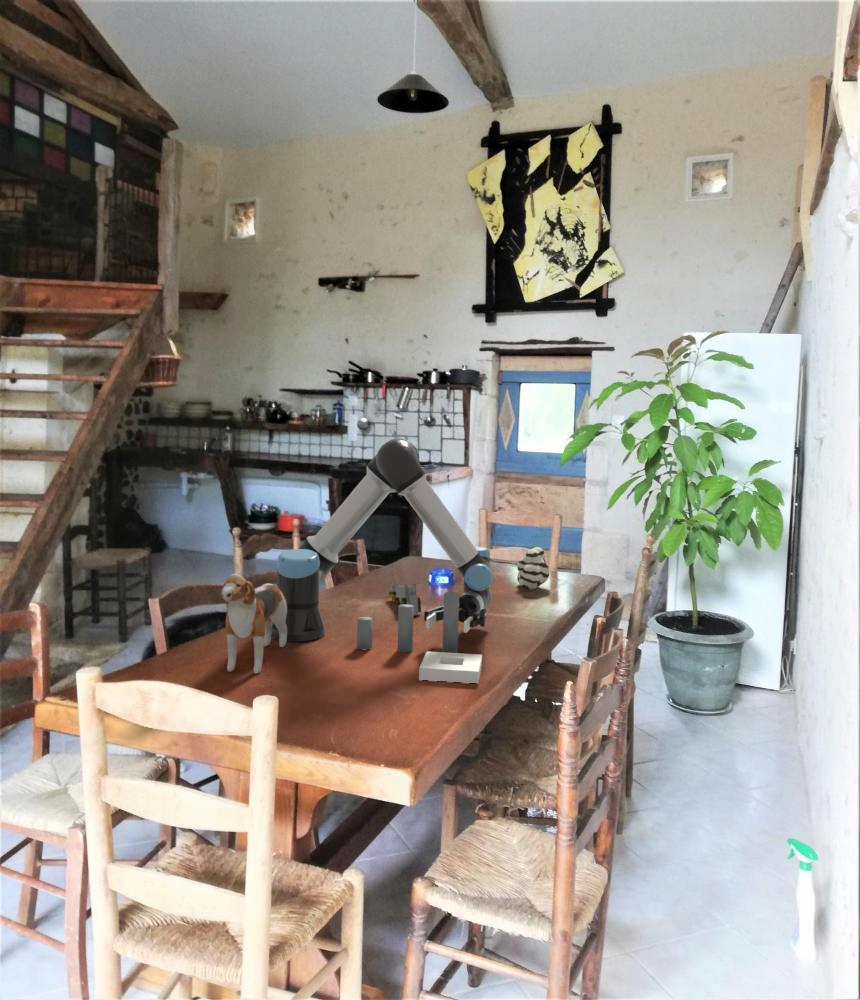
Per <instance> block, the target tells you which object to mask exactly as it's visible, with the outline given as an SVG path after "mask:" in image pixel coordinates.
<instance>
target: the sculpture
mask: <svg viewBox="0 0 860 1000" xmlns="http://www.w3.org/2000/svg"><path fill="white" fill-rule="evenodd" d="M516 567H517V571H518V573H517V579H516V580H517V582H518V584H519V587H520V588H522V589H524V590H535V589H536V588H538V587H540V586H541V585H543V584H545V583H546V582H547V581H548V580H549V577H550V573H551V572H550V567H549V564H548V562H547V561H546V559H545V551H544V548H542V547H540V546H535V547H533V548H531V549H529V550H528V551H526V553H525V555H524V556H523V557H522V558H521V559H519V560H518V562H517V566H516Z"/></svg>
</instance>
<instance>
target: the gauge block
mask: <svg viewBox="0 0 860 1000" xmlns="http://www.w3.org/2000/svg"><path fill="white" fill-rule="evenodd" d="M424 654H425V655H424V657H423V658H422V661H421V663H420V666H419V669H418V681H422V680H428V681H427V682H437V681H447V682H446V683H453V682H463V683H462V684H469V683H477V684H476V685H479V684H478V683H479V682H480V679H481V673H482V668H483V667H482V666H483V654H479V653H478V654H477V653H462V652H461V653H460V652H458V653H446V652H442V651H429V650H428V651H426V652H425V653H424ZM481 667H482V668H481Z"/></svg>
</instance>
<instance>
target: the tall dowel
mask: <svg viewBox="0 0 860 1000" xmlns="http://www.w3.org/2000/svg"><path fill="white" fill-rule="evenodd" d="M459 597H460V592H455V591H447V592H444V593H443V606H444V613H443V620H442V625H443V626H442V651H441V652H446V653H459V652H458V650H459V622H460V621H459Z"/></svg>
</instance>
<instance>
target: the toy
mask: <svg viewBox="0 0 860 1000" xmlns="http://www.w3.org/2000/svg"><path fill="white" fill-rule="evenodd" d="M408 584H409V583H403V585H400V583H399V582H398V583H396V582H394V583H392V585H391V586H390V588H389V589H390V591H388V598H391V600H392V601H394V602H395V603H400V605H404V604H407V605H413V606H414V613H413V617H414V616H419V613H422V604H421V603H422V601H421V598H420V597H418V595H417V583H415V582H411V585H408Z"/></svg>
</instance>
